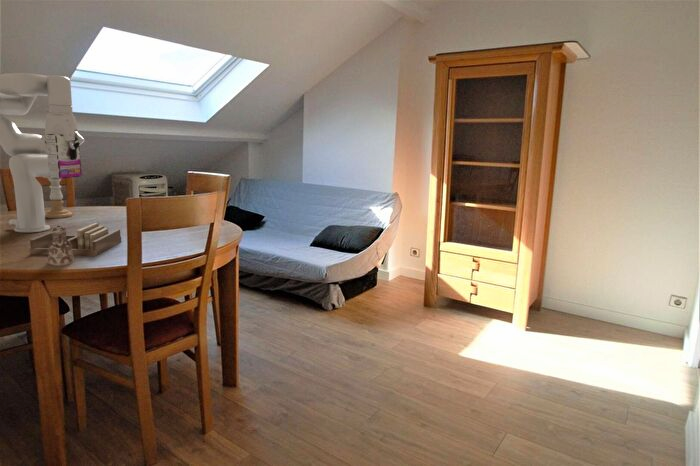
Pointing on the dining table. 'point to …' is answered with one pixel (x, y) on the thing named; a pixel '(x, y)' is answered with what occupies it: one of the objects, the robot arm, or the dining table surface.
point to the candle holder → (56, 200)
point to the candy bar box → (61, 158)
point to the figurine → (60, 248)
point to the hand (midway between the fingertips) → (64, 158)
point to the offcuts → (90, 235)
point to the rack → (75, 244)
